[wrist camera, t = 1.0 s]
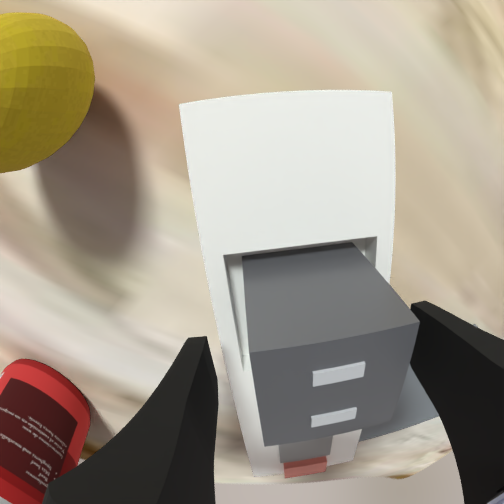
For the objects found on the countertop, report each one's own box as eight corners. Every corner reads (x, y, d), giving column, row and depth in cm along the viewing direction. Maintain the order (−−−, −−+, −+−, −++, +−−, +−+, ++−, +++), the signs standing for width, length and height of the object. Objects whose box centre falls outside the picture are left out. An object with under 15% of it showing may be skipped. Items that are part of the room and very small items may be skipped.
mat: (475, 324, 17) (478, 327, 17) (439, 411, 21) (441, 414, 21) (346, 358, 17) (348, 362, 17) (334, 443, 21) (335, 447, 21)
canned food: (30, 415, 19) (-10, 513, 9) (-7, 346, 16) (-76, 454, 6) (105, 434, 20) (77, 552, 10) (75, 364, 16) (13, 512, 6)
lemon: (148, 86, 11) (41, 49, 4) (67, 179, 12) (-59, 246, 5) (76, 16, 9) (-39, -37, 2) (5, 107, 10) (-120, 126, 3)
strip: (191, 108, 12) (176, 103, 8) (359, 96, 12) (398, 91, 8) (255, 461, 21) (258, 496, 18) (339, 447, 22) (348, 481, 18)
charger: (351, 241, 12) (421, 323, 7) (347, 329, 14) (392, 423, 9) (241, 255, 12) (248, 355, 7) (253, 344, 14) (264, 449, 9)
